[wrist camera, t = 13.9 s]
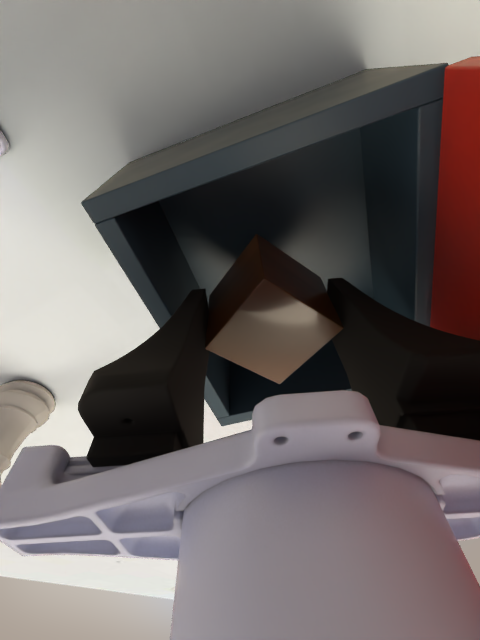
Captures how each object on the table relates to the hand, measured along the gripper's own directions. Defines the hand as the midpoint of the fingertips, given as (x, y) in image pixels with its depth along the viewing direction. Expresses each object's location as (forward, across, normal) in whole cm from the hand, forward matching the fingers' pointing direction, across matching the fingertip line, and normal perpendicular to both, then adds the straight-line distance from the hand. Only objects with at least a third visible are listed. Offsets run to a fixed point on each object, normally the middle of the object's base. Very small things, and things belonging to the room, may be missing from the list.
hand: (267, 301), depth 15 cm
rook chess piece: (+5, +19, +11) cm, 23 cm away
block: (+1, 0, 0) cm, 1 cm away
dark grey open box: (+5, -1, 0) cm, 5 cm away
